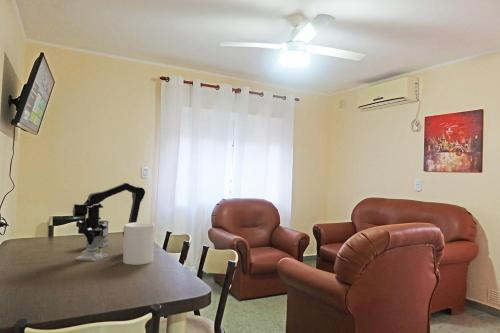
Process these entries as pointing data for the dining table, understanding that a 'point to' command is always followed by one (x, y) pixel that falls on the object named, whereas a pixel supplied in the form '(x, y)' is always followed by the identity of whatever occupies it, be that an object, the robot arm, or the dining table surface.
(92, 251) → the sleeve block
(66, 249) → the dining table surface
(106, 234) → the coffee box
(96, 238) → the column
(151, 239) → the canister
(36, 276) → the dining table surface
